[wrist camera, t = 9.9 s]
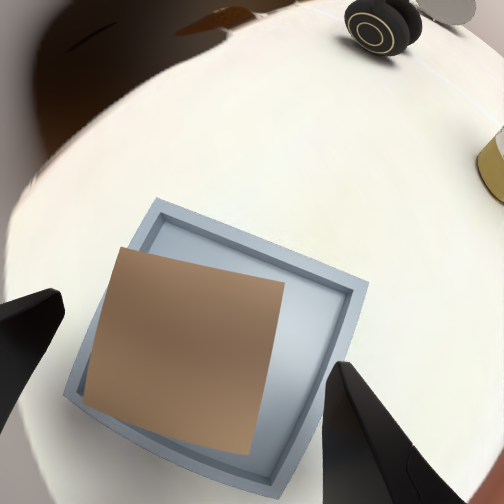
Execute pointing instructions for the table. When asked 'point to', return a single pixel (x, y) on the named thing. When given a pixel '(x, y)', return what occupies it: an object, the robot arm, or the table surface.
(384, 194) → the table surface
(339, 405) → the robot arm
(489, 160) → the paper tube
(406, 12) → the headphones
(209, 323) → the walnut block
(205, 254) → the tray
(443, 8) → the alarm clock
